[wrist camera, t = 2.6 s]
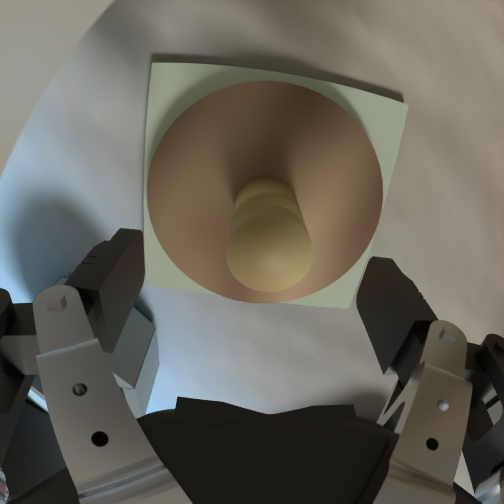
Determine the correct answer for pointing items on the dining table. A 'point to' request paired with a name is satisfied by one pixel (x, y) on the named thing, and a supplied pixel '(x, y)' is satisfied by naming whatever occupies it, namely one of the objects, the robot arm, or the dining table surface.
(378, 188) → the lid
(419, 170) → the dining table surface
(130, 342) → the cup
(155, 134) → the mat
